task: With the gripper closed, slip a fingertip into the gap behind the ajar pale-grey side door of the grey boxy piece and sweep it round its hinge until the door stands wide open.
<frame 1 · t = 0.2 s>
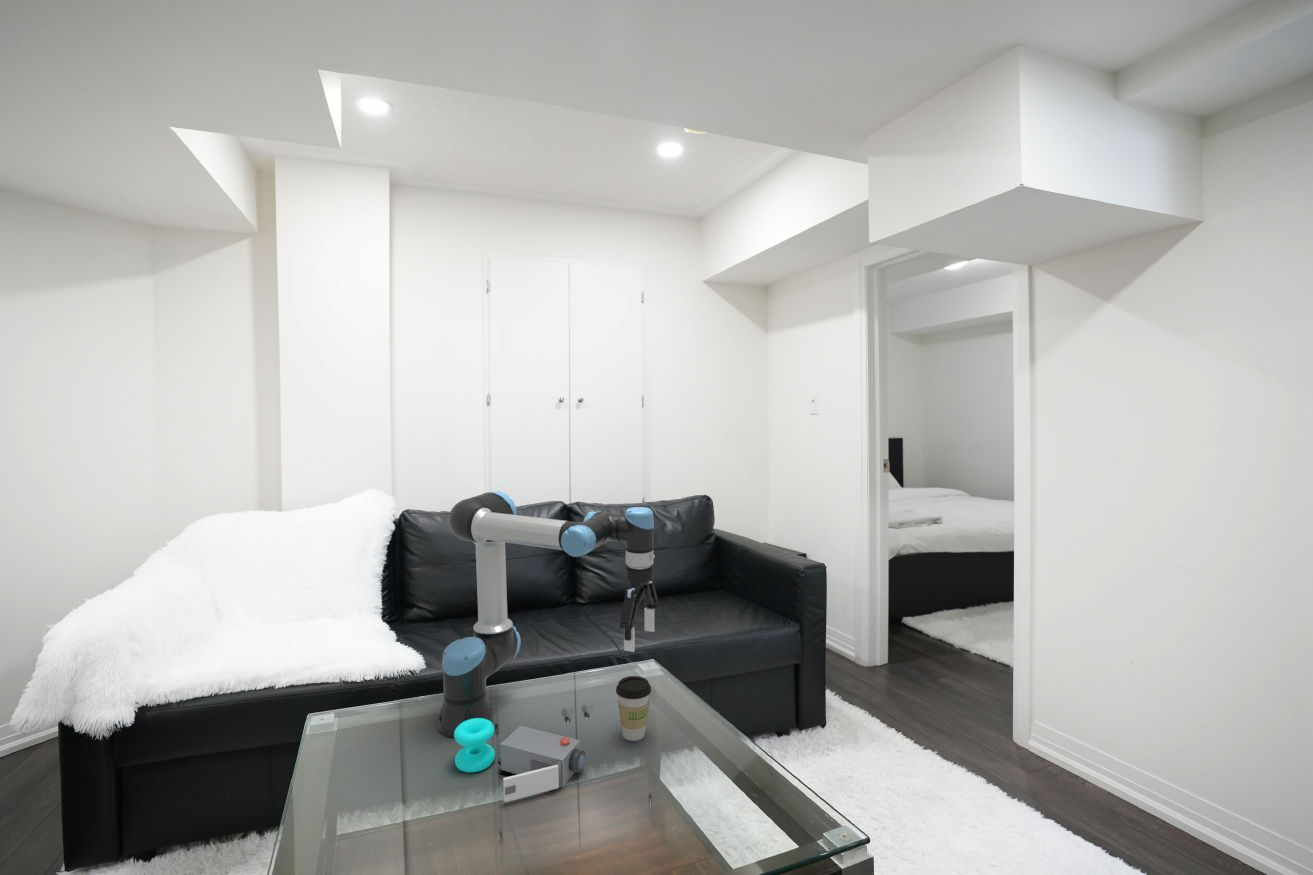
hand: (639, 640, 174), 28 cm above the table, fingers open, 13 cm apart
side door: (533, 782, 151), point 4 cm above the table, hinge at 45.0°
grey boxy piece: (541, 767, 163), on the table
donuts: (475, 763, 165), on the table
coffee cup: (633, 734, 177), on the table
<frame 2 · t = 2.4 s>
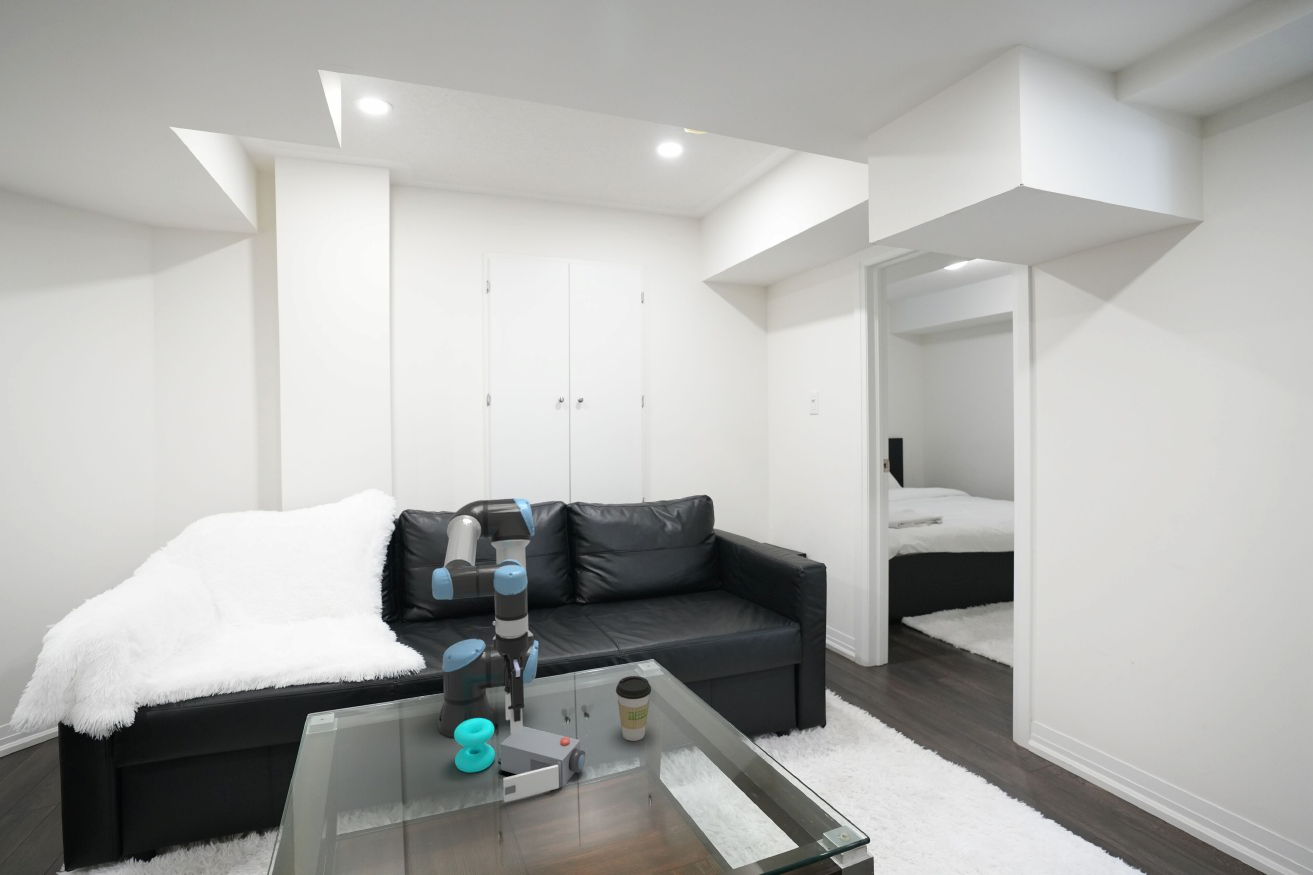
hand: (514, 724, 152), 17 cm above the table, fingers open, 6 cm apart
nothing on the table moved.
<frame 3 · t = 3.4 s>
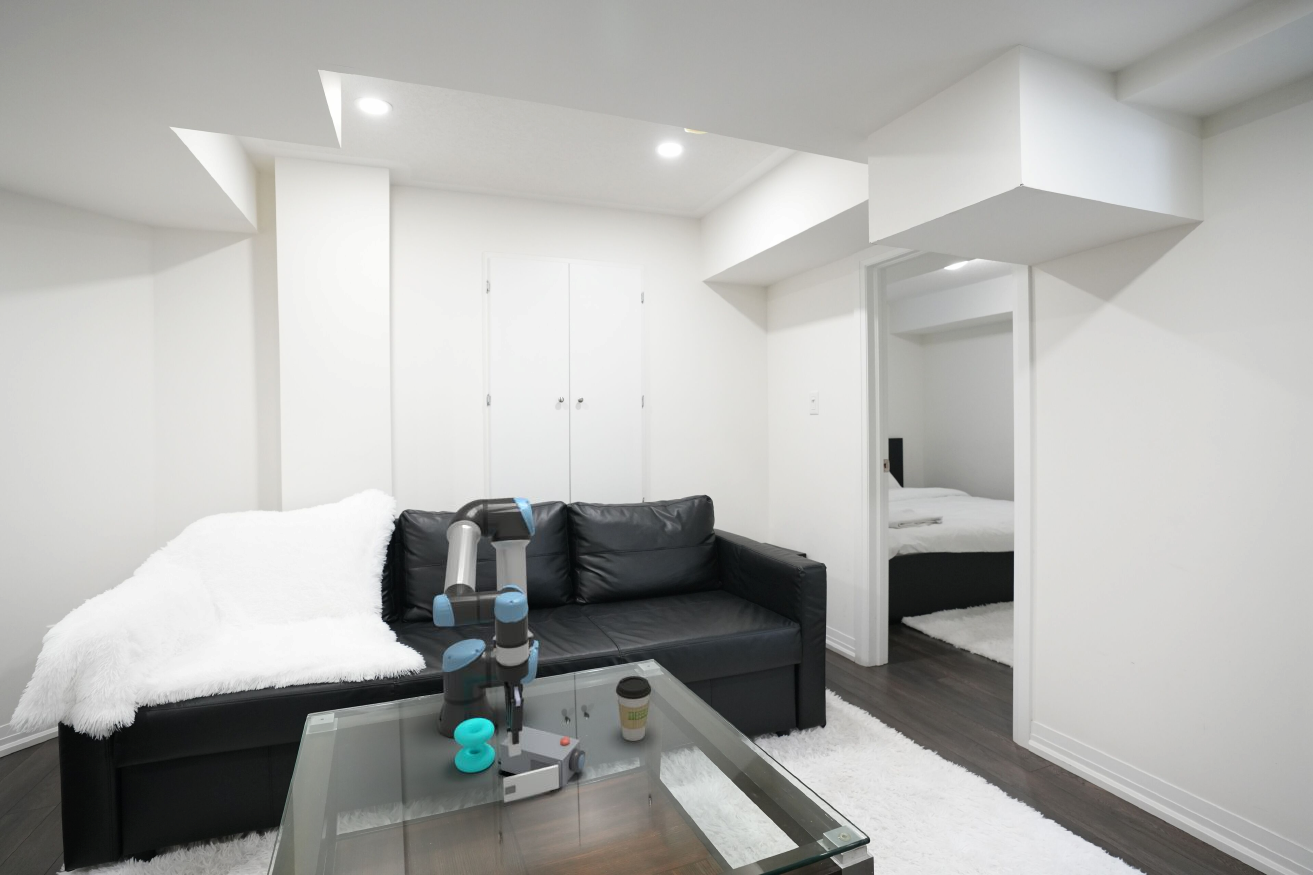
hand: (514, 753, 152), 10 cm above the table, fingers closed
nothing on the table moved.
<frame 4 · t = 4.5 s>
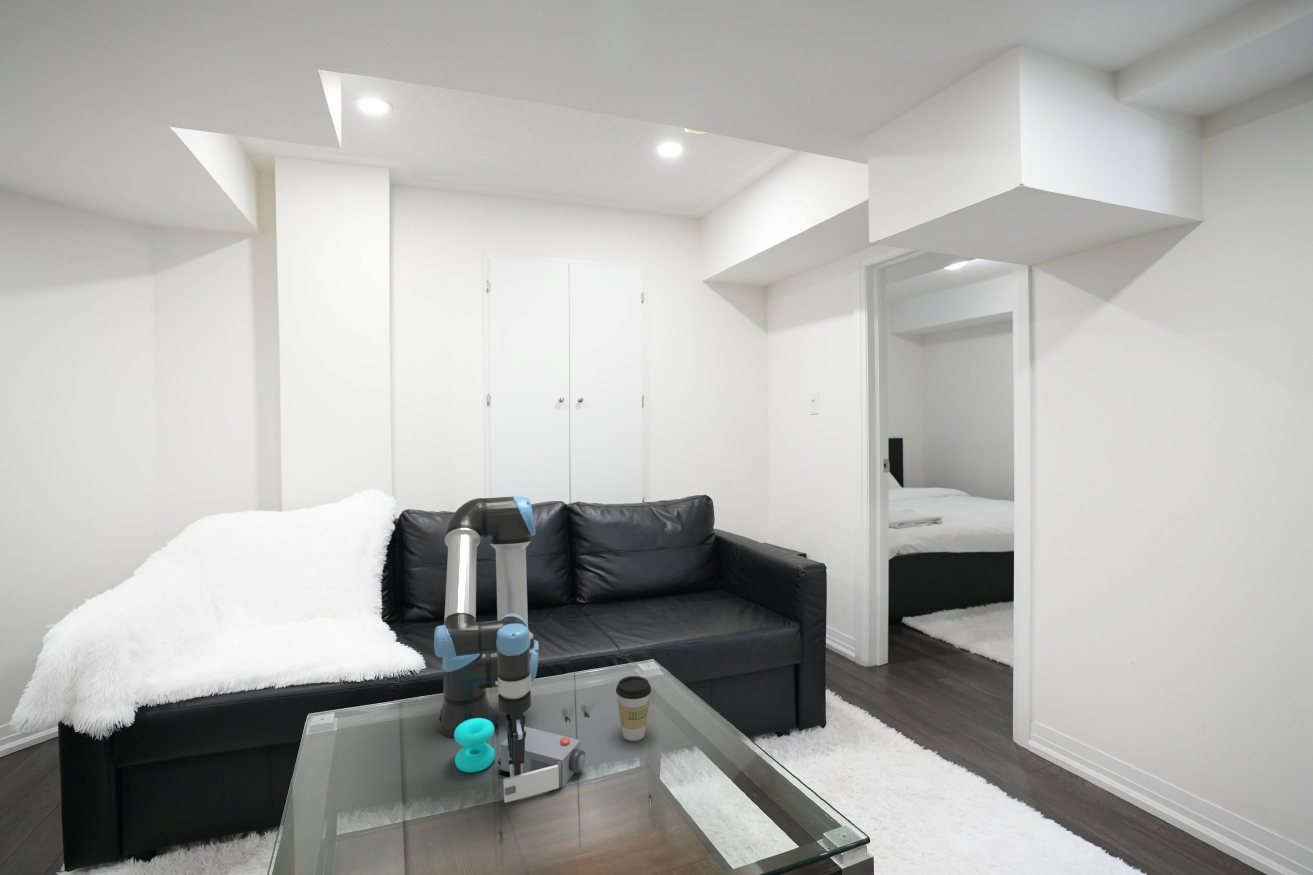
hand: (516, 785, 152), 3 cm above the table, fingers closed
side door: (533, 782, 151), point 4 cm above the table, hinge at 45.9°, touching gripper
everything else where it was.
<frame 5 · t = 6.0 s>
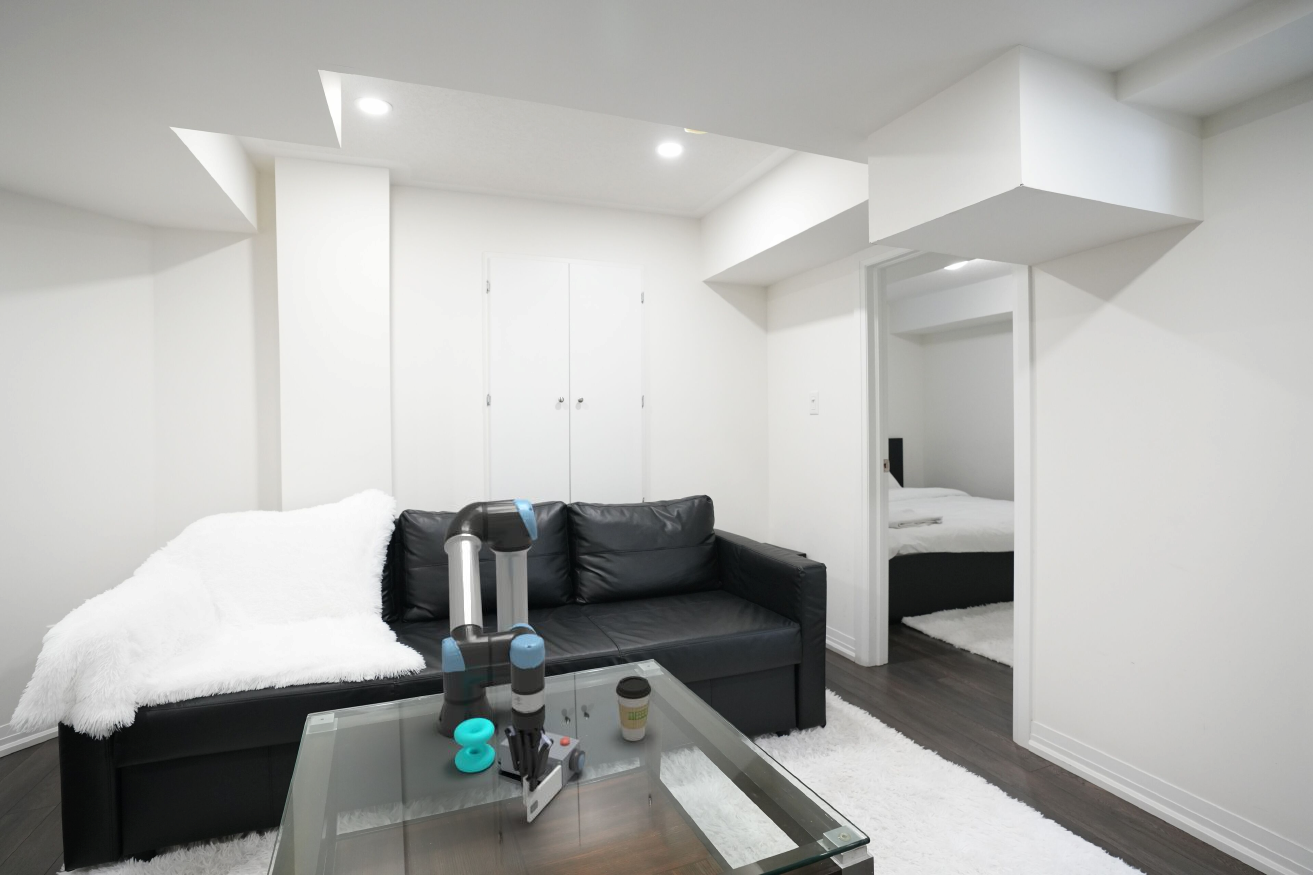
hand: (529, 801, 146), 3 cm above the table, fingers closed
side door: (545, 791, 148), point 4 cm above the table, hinge at 87.9°, touching gripper
everything else where it was.
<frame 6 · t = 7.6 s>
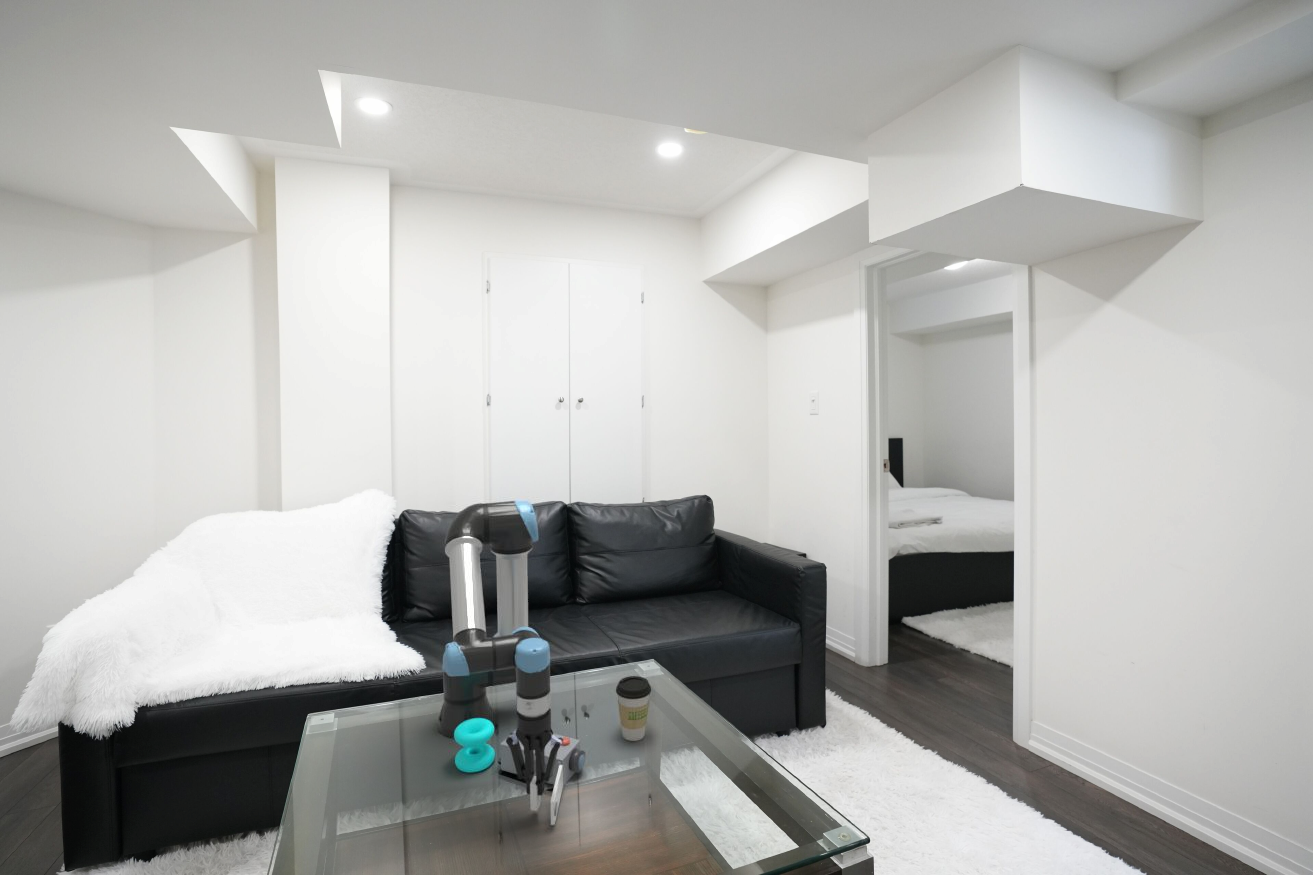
hand: (535, 806, 145), 2 cm above the table, fingers closed
side door: (556, 792, 148), point 4 cm above the table, hinge at 111.9°
everything else where it was.
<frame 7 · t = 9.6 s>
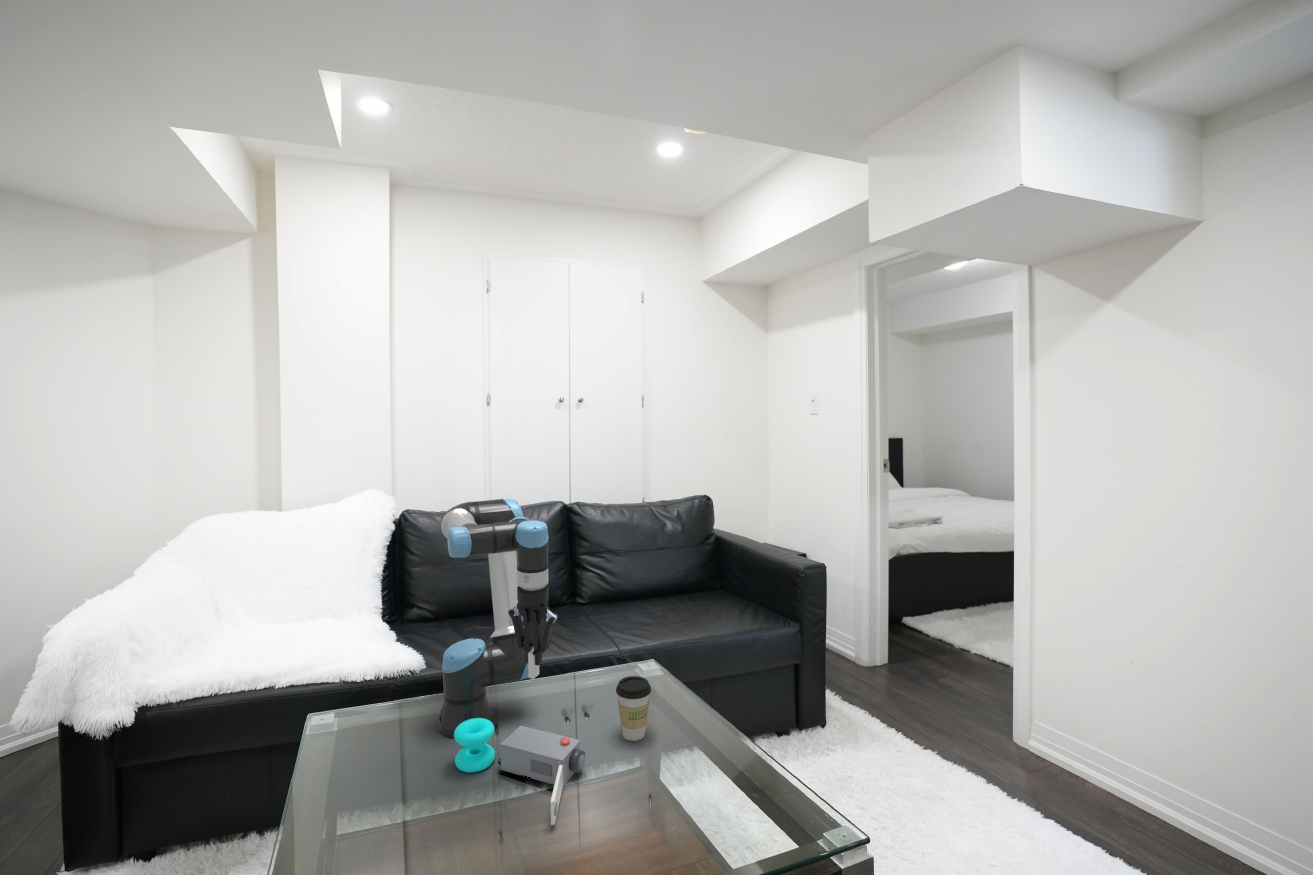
hand: (533, 675, 158), 26 cm above the table, fingers closed
nothing on the table moved.
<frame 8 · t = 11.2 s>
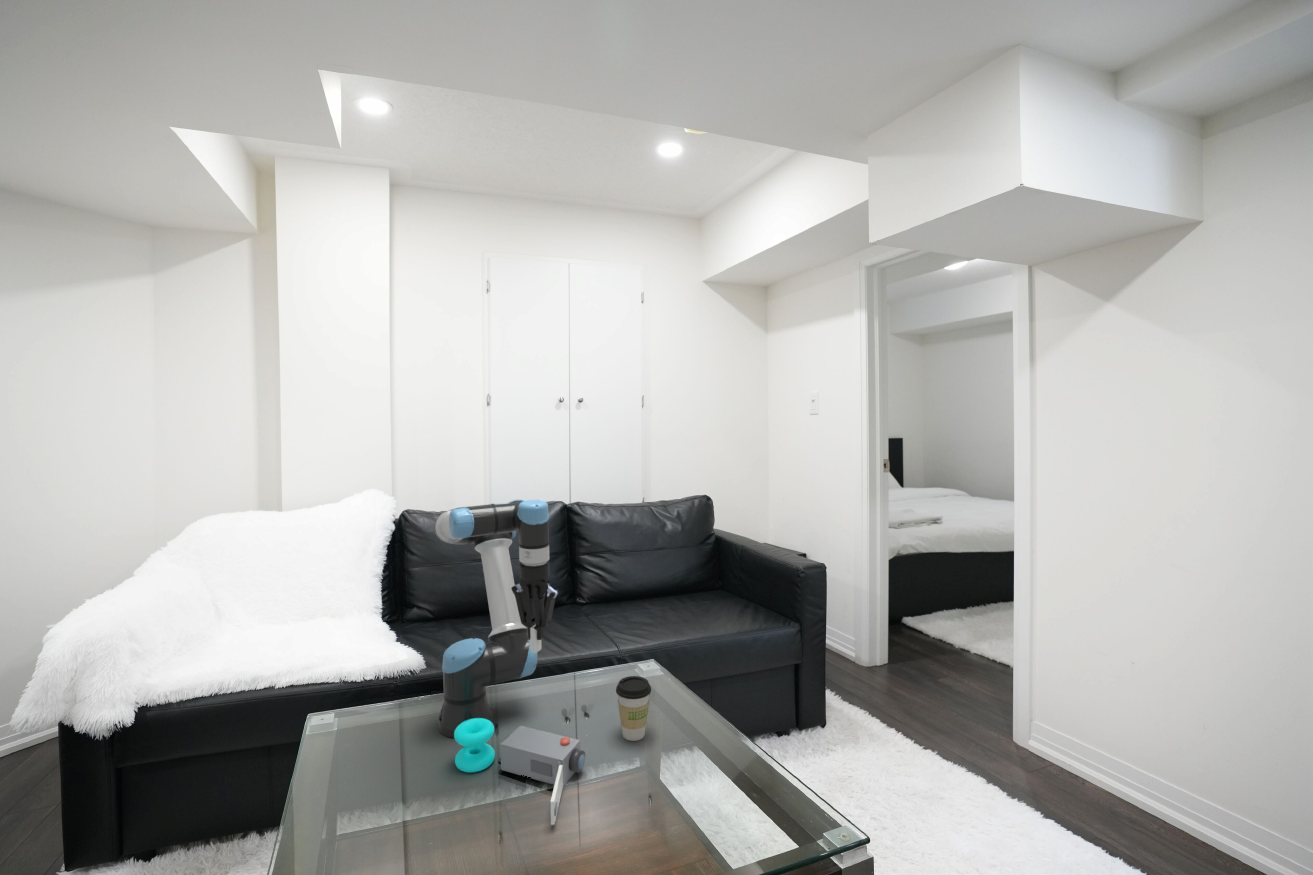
hand: (536, 650, 164), 29 cm above the table, fingers closed
nothing on the table moved.
at the end: side door at +112° (first picture: +45°) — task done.
